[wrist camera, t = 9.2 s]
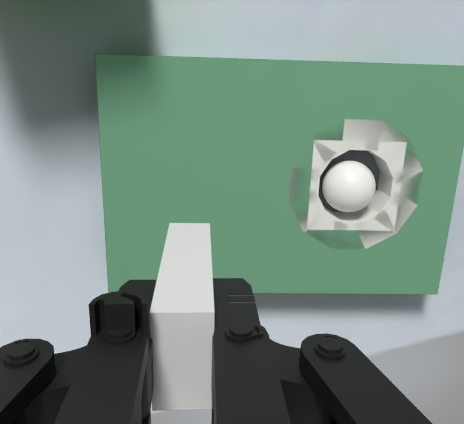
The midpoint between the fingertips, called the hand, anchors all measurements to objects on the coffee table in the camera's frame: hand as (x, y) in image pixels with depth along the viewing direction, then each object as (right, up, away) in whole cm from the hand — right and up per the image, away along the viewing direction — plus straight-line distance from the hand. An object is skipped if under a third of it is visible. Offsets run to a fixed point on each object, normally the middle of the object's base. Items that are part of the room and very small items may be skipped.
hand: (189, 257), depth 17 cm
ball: (+10, +3, +14) cm, 17 cm away
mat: (+5, +4, +15) cm, 17 cm away
